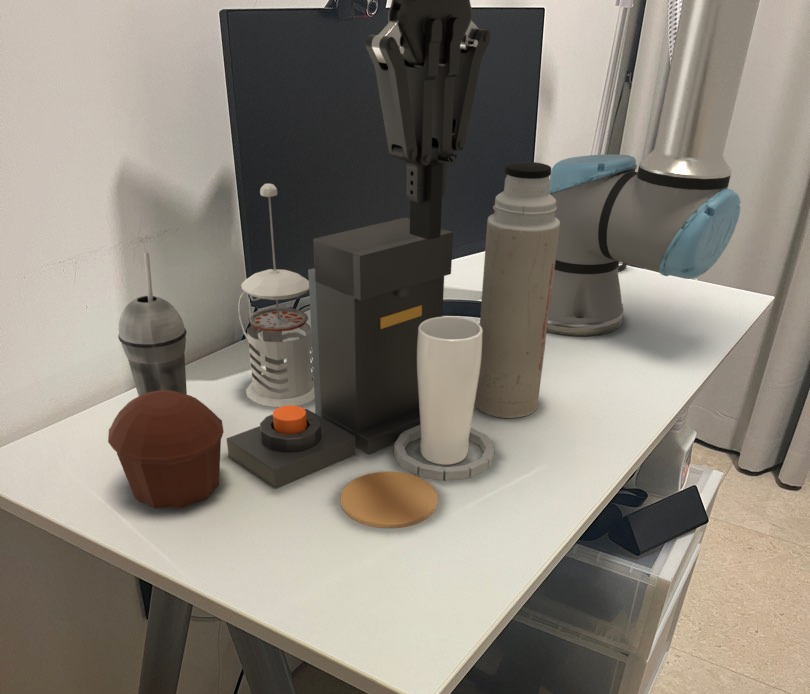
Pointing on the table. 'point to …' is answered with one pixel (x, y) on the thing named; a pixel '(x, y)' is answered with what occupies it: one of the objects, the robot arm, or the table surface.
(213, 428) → the muffin
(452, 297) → the table surface
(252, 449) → the power switch
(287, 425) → the power button
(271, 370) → the french press
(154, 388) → the beverage cup
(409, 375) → the coffee maker
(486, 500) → the table surface
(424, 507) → the disc
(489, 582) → the table surface
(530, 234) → the thermos bottle
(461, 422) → the drinking glass
